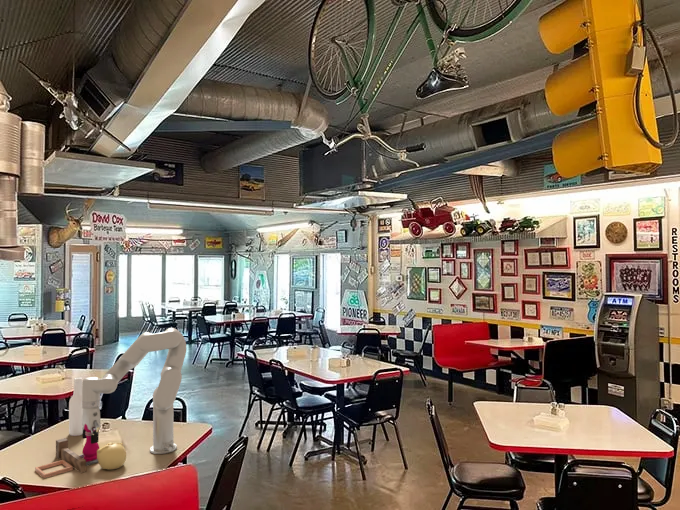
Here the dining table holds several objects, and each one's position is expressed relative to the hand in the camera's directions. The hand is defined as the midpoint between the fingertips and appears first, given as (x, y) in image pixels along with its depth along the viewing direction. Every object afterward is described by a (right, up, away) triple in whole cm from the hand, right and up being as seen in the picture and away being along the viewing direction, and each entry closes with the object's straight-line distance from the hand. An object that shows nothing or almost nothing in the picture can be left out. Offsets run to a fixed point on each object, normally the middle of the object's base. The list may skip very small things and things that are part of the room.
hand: (90, 440), depth 235 cm
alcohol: (-25, -10, +36) cm, 45 cm away
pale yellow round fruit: (+14, -9, -8) cm, 19 cm away
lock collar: (-10, -9, -12) cm, 18 cm away
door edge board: (-6, -9, -5) cm, 12 cm away
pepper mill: (0, -9, 0) cm, 9 cm away
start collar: (0, -9, 0) cm, 9 cm away
